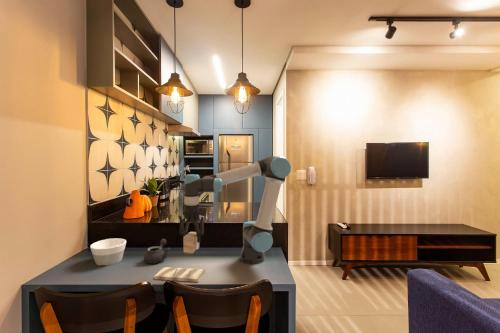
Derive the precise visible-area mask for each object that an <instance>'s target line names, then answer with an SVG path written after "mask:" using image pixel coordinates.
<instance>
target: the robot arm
mask: <svg viewBox="0 0 500 333" xmlns="http://www.w3.org/2000/svg"><path fill="white" fill-rule="evenodd" d="M291 171H292V165H291V162H290V160H288V158H286V157H285V156H281V155H277V156H273V155H272V156H269V157H266V158H263V159H260V160H256V161H255V162H254V163H252V164H249V165H245V166H241V167H237V168H233V169H229V170H226V171H222V172H219V173H215V174H211V175H206V176H203V177H200V175H199V174H193V173H191V174H185V176H184V185H183V186H184V192H183V193H184V198H183V199H184V200H183V201H184V209H183V210H184V213H183V214H180V215H178V219H179V235H180V236H182V242H183V243H184V236H185V235H187V234H188V231H189V230H188V229H189V227H190V226H189V225H190V224H191V223H193V225H194V229H195V232H196V234H197V236H196V237H195V249H198V248H200V242H201V237H202V236H203V235H204V234H205V222H204V221H205V218H206V216H205V215H201V214H200V194H201V193H221V192H222V190H223V186H225V185H229V184H233V183H236V182H239V181H243V180H246V179H250V178H253V177H254V178H255V177H257V176H258V177H263V176H264V178H265V186H264V190H263V193H262V197H261V202H260V205H259V210H258V214H257V218H256V220H249V221H244V222H243V224H242V225H243V226H242V244H243V245H242V249H241V252H240V257H239V259H240V261H241V262H243V263H247V264H259V263H262V262H264V261H265V259H266V257H265V256H266V255H265V252H266V251H268V250H270V249H271V248H272V245H273V243H274V239H273V236H272V233H273V230H274V228H273V226H272V224H273V223H272V222H273V218H274V215H275V209H276V208H277V207H276V206H277V202H278V198H279V194H280V190H281V187H282V184H284V183H285V181H286V177H288V176H289V175H290V173H291ZM184 219H185V221H184ZM198 219H199V221H198ZM184 222H185V223H184ZM184 224H185V225H184ZM198 250H199V249H198Z"/></svg>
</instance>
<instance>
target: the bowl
mask: <svg viewBox="0 0 500 333" xmlns="http://www.w3.org/2000/svg"><path fill="white" fill-rule="evenodd" d="M126 245H127V240H126V239H124V238H115V237H114V238H106V239H101V240H98V241H96V242H93V243H92V244H90V250H91V254H92V256H93V259H94V262H95V265H97V266H101V265H105V266H111V265H114V264H118V263H120V262H121V261H122V260H123V257H124V252H125V248H126Z"/></svg>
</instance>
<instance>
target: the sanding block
mask: <svg viewBox="0 0 500 333" xmlns="http://www.w3.org/2000/svg"><path fill="white" fill-rule="evenodd" d="M196 236H197V234H196V231H190V232H187V234H186V235H185V236H184V242H183V254H187V255H188V254H189V255H193V254H195V253H196V252H197V250H199V248H200V247H199V248H198V249H195V237H196Z"/></svg>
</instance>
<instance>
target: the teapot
mask: <svg viewBox="0 0 500 333" xmlns="http://www.w3.org/2000/svg"><path fill="white" fill-rule="evenodd" d="M159 242H160V243H159V246H158V245H156V246H151V247H150V246H149V247H148V248H147V251H146V252H145V254H144V257H143V262H144V263H147V264H158V263H161V262H163V261H164V260H166V258H167V257H168V255H169V254H168V253H169V251H170V250H171V248H170V247H167V248H165V250H163V247H165V245H166V244H167V242H168V241H167V239H165V238H162V239H161V240H160V241H159Z"/></svg>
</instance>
